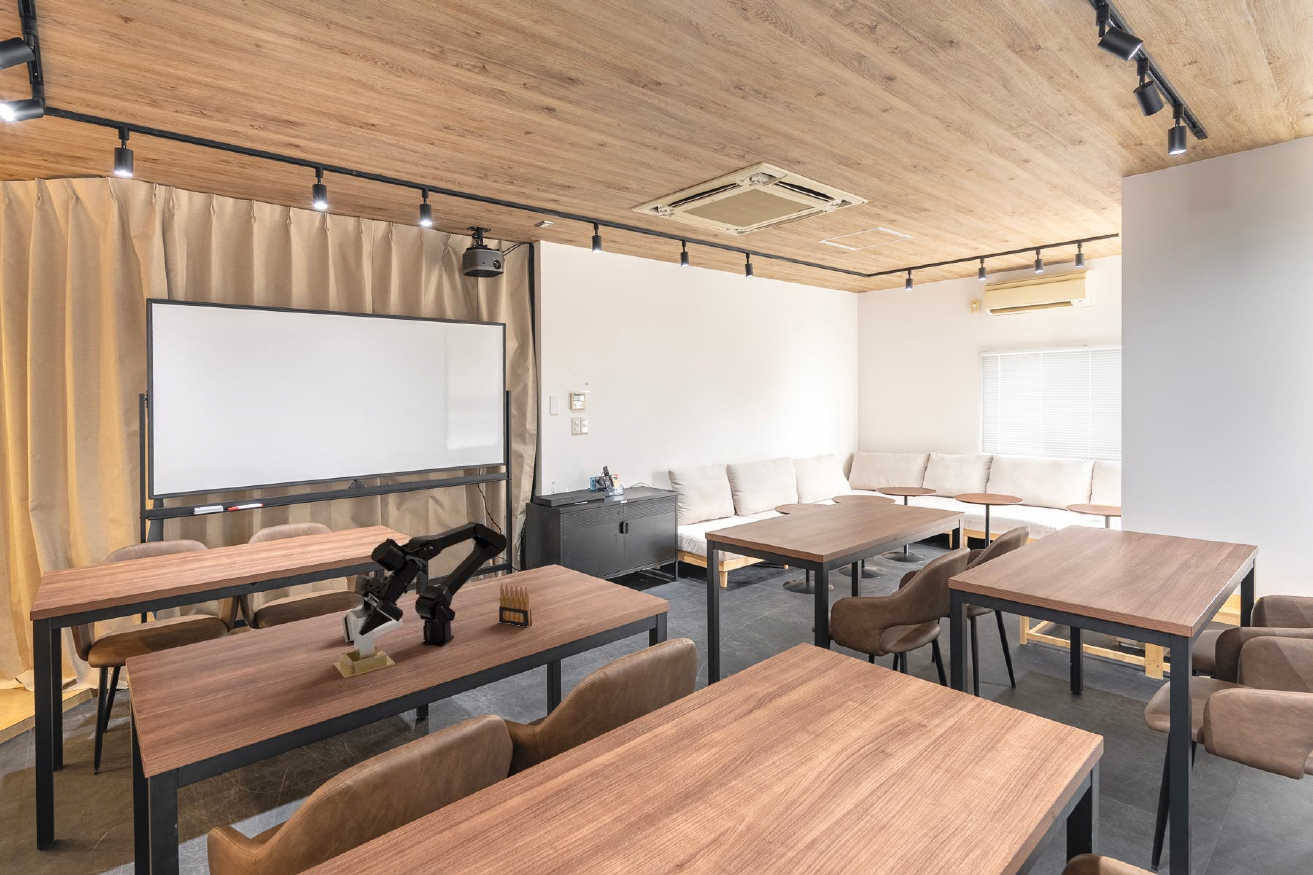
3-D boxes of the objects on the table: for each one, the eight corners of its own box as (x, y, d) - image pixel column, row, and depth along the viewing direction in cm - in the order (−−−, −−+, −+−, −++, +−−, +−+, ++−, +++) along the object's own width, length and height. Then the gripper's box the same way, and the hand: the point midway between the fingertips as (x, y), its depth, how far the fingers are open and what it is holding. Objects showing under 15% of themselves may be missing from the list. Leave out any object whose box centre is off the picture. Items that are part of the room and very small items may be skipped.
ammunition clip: (532, 625, 191) (530, 585, 190) (528, 627, 189) (527, 587, 188) (502, 620, 195) (501, 581, 194) (498, 622, 193) (497, 583, 192)
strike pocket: (382, 652, 172) (382, 641, 172) (395, 664, 164) (394, 653, 164) (333, 664, 165) (333, 654, 165) (344, 678, 157) (344, 667, 156)
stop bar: (369, 650, 168) (367, 607, 167) (375, 657, 164) (373, 612, 163) (354, 655, 165) (351, 611, 164) (359, 661, 161) (357, 616, 160)
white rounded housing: (356, 644, 178) (346, 609, 179) (346, 647, 180) (336, 613, 181) (405, 624, 193) (395, 592, 194) (394, 627, 195) (385, 596, 196)
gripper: (365, 556, 172) (322, 606, 166) (387, 570, 158) (341, 625, 152) (397, 578, 178) (357, 627, 172) (421, 594, 164) (378, 648, 157)
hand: (357, 631), depth 163 cm, fingers closed on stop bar, 5 cm apart
